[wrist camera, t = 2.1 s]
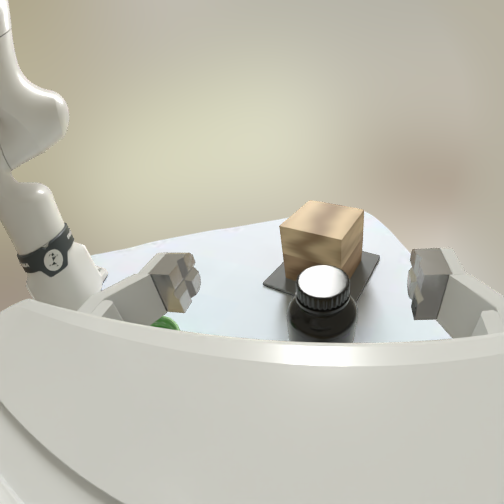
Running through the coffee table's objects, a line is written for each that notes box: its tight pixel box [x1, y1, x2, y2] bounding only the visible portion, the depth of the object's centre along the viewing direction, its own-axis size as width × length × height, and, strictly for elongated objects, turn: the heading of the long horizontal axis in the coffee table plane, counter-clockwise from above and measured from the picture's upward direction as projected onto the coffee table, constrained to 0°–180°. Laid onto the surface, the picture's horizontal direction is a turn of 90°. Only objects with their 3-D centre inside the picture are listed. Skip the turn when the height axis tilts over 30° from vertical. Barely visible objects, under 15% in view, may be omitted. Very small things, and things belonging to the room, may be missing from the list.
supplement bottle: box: [287, 265, 358, 343], centre depth 27 cm, size 7×7×12 cm
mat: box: [263, 251, 380, 303], centre depth 43 cm, size 14×14×1 cm
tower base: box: [283, 237, 363, 281], centre depth 42 cm, size 9×9×4 cm
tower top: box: [279, 200, 364, 269], centre depth 39 cm, size 9×9×4 cm
